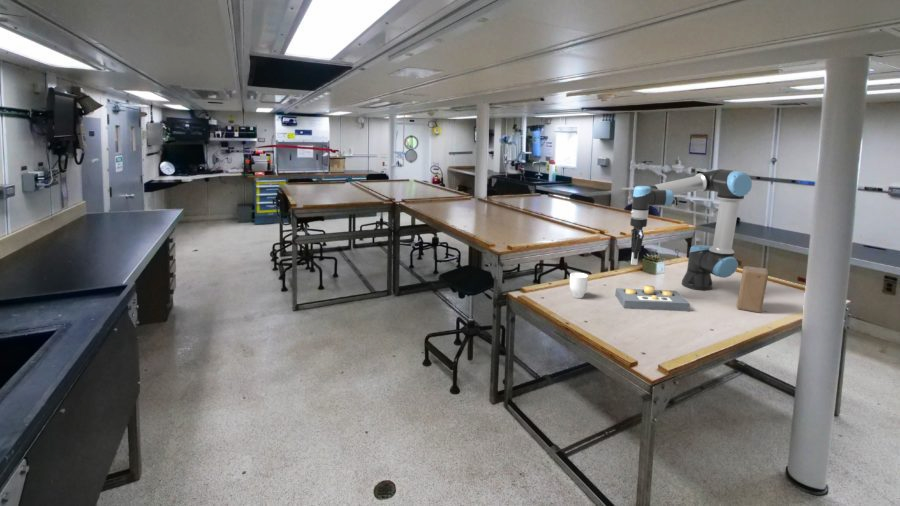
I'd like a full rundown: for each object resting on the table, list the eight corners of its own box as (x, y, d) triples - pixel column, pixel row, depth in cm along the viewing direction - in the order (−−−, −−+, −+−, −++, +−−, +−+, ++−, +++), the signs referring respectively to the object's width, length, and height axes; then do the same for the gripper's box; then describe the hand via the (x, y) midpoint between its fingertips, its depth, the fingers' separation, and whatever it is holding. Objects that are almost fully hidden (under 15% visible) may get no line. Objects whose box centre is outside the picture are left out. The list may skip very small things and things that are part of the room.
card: (668, 298, 228) (669, 295, 228) (672, 301, 224) (672, 298, 223) (637, 296, 230) (637, 293, 230) (640, 300, 225) (640, 297, 225)
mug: (589, 299, 237) (590, 276, 234) (573, 300, 236) (574, 278, 233) (579, 291, 248) (580, 270, 245) (564, 292, 247) (565, 271, 244)
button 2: (669, 298, 237) (670, 290, 236) (673, 301, 233) (674, 293, 232) (660, 298, 238) (661, 289, 237) (663, 301, 233) (664, 293, 232)
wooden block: (760, 313, 220) (768, 273, 215) (736, 309, 225) (743, 270, 220) (760, 307, 229) (768, 268, 223) (736, 303, 234) (743, 265, 228)
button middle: (652, 293, 238) (653, 285, 237) (654, 296, 233) (656, 288, 232) (642, 293, 238) (643, 285, 237) (645, 296, 234) (646, 288, 233)
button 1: (633, 296, 239) (634, 288, 238) (635, 300, 235) (636, 291, 234) (623, 296, 240) (624, 288, 239) (626, 299, 235) (627, 291, 234)
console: (675, 298, 240) (676, 290, 239) (688, 311, 222) (689, 303, 221) (615, 295, 243) (616, 288, 242) (623, 308, 226) (624, 300, 225)
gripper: (627, 215, 234) (623, 260, 240) (634, 220, 221) (629, 267, 227) (643, 215, 233) (638, 261, 239) (651, 220, 220) (645, 268, 226)
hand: (634, 264), depth 233 cm, fingers closed
